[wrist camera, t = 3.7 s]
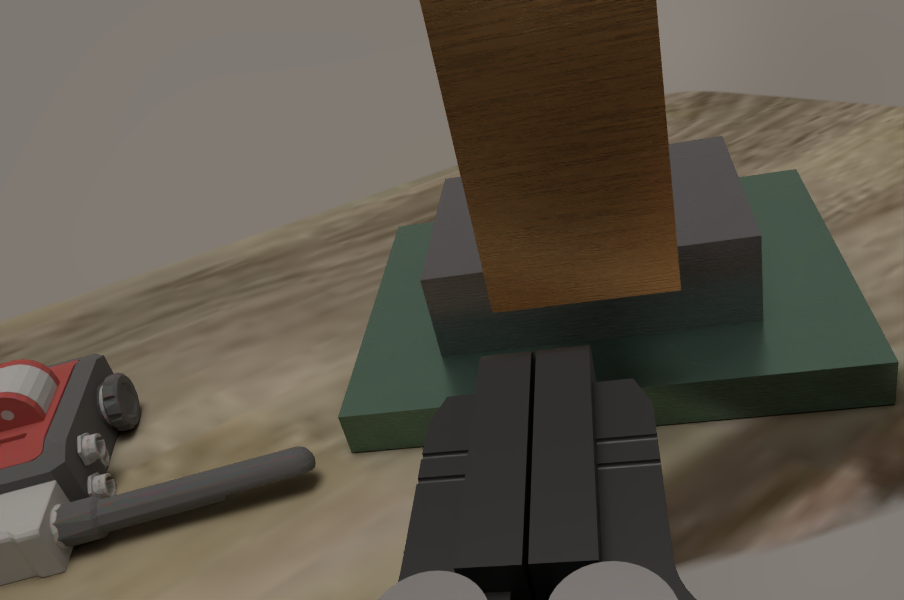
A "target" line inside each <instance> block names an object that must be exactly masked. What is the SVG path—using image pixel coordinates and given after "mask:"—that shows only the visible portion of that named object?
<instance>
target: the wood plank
mask: <svg viewBox="0 0 904 600" xmlns="http://www.w3.org/2000/svg"><path fill="white" fill-rule="evenodd" d="M420 4H421V8H422V13H423V17H424V21H425V26H426V30H427V34H428V38H429V42H430V47H431V51H432V55H433V60H434V64H435V68H436V73H437V77H438V81H439V85H440V90H441V94H442V98H443V102H444V107H445V111H446V116H447V120H448V124H449V128H450V132H451V137H452V141H453V145H454V149H455V154H456V158H457V163H458V167H459V171H460V176H461V180H462V184H463V188H464V193H465V197H466V201H467V206H468V210H469V214H470V218H471V223H472V227H473V231H474V236H475V240H476V244H477V248H478V253H479V257H480V261H481V266H482V270H483V274H484V278H485V283H486V287H487V291H488V296H489V300H490V304H491V308H492V313H498V312H506V311H514V310H523V309H531V308H539V307H548V306H556V305H564V304H572V303H581V302H589V301H597V300H606V299H614V298H622V297H630V296H639V295H647V294H655V293H664V292H672V291H680V290H681V283H680V271H679V260H678V248H677V236H676V225H675V213H674V202H673V190H672V178H671V167H670V155H669V143H668V132H667V120H666V109H665V97H664V85H663V74H662V63H661V51H660V39H659V27H658V16H657V4H656V0H420Z"/></svg>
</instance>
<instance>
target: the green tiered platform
mask: <svg viewBox="0 0 904 600" xmlns="http://www.w3.org/2000/svg"><path fill="white" fill-rule="evenodd" d="M669 155H670V167H671V178H672V190H673V202H674V213H675V225H676V236H677V248H678V260H679V271H680V283H681V290H680V291H672V292H664V293H655V294H647V295H639V296H630V297H622V298H614V299H606V300H597V301H589V302H581V303H572V304H564V305H556V306H548V307H539V308H531V309H523V310H514V311H506V312H498V313H492V308H491V304H490V300H489V296H488V291H487V287H486V283H485V278H484V274H483V270H482V266H481V261H480V257H479V253H478V248H477V244H476V240H475V236H474V231H473V227H472V223H471V218H470V214H469V210H468V206H467V201H466V197H465V193H464V188H463V184H462V180H461V177H455V178H449V179H445V182H444V186H443V190H442V194H441V198H440V202H439V206H438V210H437V214H436V218H435V222H429V223H422V224H415V225H408V226H402V227H398V231H397V234H396V237H395V240H394V243H393V246H392V250H391V253H390V256H389V259H388V262H387V265H386V268H385V272H384V275H383V278H382V281H381V284H380V287H379V290H378V294H377V297H376V300H375V303H374V306H373V309H372V313H371V316H370V319H369V322H368V325H367V328H366V331H365V335H364V338H363V341H362V344H361V347H360V350H359V354H358V357H357V360H356V363H355V366H354V369H353V372H352V376H351V379H350V382H349V385H348V388H347V391H346V395H345V398H344V401H343V404H342V407H341V410H340V413H339V417H338V418H339V421H340V423H341V426H342V428H343V431H344V434H345V436H346V439H347V442H348V444H349V447H350V449H351V452H352V453H353V452H364V451H375V450H386V449H398V448H409V447H420V446H424V442H425V437H426V432H427V426H428V423H429V422H430V420H431V419H432V418H433V416H434V415H435V413H436V412H437V410H438V409H439V408H440V406H441V405H442V403H443V402H444V401H445V399H446V398H447V397H450V396H460V395H470V394H475V392H476V384H477V376H478V368H479V361H480V358H481V357H482V356H491V355H500V354H510V353H519V352H528V351H533V352H534V353H535V356H536V352H537V350H545V349H554V348H564V347H573V346H583V345H590V347H591V352H592V358H593V364H594V370H595V377H596V382H601V381H611V380H622V379H632V378H633V379H634V380H635V382H636V383H637V384H638V385H639V387H640V388H641V389H642V390H643V392H644V393H645V394H646V395H647V397H648V398H649V399H650V401H651V402H652V403H653V410H654V417H655V424H656V425H666V424H677V423H689V422H700V421H711V420H722V419H733V418H745V417H756V416H767V415H778V414H789V413H801V412H812V411H823V410H834V409H845V408H857V407H868V406H879V405H890V404H895V398H896V386H897V374H898V360H897V358H896V356H895V355H894V353H893V351H892V349H891V347H890V345H889V343H888V341H887V340H886V338H885V336H884V334H883V332H882V330H881V328H880V326H879V324H878V323H877V321H876V319H875V317H874V315H873V313H872V311H871V309H870V308H869V306H868V304H867V302H866V300H865V298H864V296H863V294H862V293H861V291H860V289H859V287H858V285H857V283H856V281H855V279H854V277H853V276H852V274H851V272H850V270H849V268H848V266H847V264H846V262H845V261H844V259H843V257H842V255H841V253H840V251H839V249H838V247H837V245H836V244H835V242H834V240H833V238H832V236H831V234H830V232H829V230H828V229H827V227H826V225H825V223H824V221H823V219H822V217H821V215H820V213H819V212H818V210H817V208H816V206H815V204H814V202H813V200H812V198H811V197H810V195H809V193H808V191H807V189H806V187H805V185H804V183H803V182H802V180H801V178H800V176H799V174H798V172H797V170H796V169H794V170H787V171H780V172H773V173H766V174H759V175H753V176H746V177H738V175H737V172H736V170H735V167H734V165H733V162H732V160H731V157H730V155H729V152H728V150H727V147H726V145H725V142H724V139H723V137H722V136H719V137H713V138H706V139H700V140H693V141H687V142H680V143H674V144H669Z"/></svg>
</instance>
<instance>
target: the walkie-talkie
mask: <svg viewBox="0 0 904 600" xmlns="http://www.w3.org/2000/svg"><path fill="white" fill-rule="evenodd" d="M139 417H140V409H139V400H138V395H137V393H136V390H135V388H134V385H133V384H132V382H131V380H130V379H129V378H128V377H127V376H125V375H124V374H123V373H115V374H114V373H113V372H112V370H111V368H110V366H109V364H108V363H107V361H106V359H105V357H104V355H98V354H92V355H88V356H85V357H81V358H77V359H73V360H70V361H66V362H62V363H58V364H54V365H51V366H45V365H44V364H42V363H39V362H36V361H33V360H25V359H22V360H14V361H10V362H6V363H3V364H0V586H1V585H4V584H8V583H12V582H16V581H19V580H23V579H27V578H31V577H34V576H39V577H42V578H44V577H48V576H51V575H55V574H58V573H62V572H65V571H66V568H67V565H68V562H69V559H70V556H71V552H72V549H73V546H76V545H79V544H83V543H87V542H90V541H94V540H98V539H102V538H105V537H106V536H107V535H108V533H109V532H111V531H115V530H118V529H122V528H126V527H129V526H133V525H137V524H140V523H144V522H148V521H151V520H155V519H159V518H162V517H166V516H170V515H173V514H177V513H181V512H184V511H188V510H192V509H195V508H199V507H203V506H206V505H210V504H214V503H217V502H221V501H224V500H226V499H227V497H228V495H229V494H232V493H236V492H240V491H243V490H247V489H251V488H254V487H258V486H262V485H265V484H269V483H273V482H276V481H280V480H283V479H287V478H291V477H294V476H298V475H302V474H304V473H307V472H309V471H311V470H312V469H313V468H314V467H315V458H314V456H313V454H312V453H311V452H310V451H309V450H308V449H307V448H305V447H294V448H290V449H286V450H283V451H279V452H275V453H271V454H268V455H264V456H260V457H257V458H253V459H249V460H245V461H242V462H238V463H234V464H231V465H227V466H223V467H219V468H216V469H212V470H208V471H205V472H201V473H197V474H193V475H190V476H186V477H182V478H179V479H175V480H171V481H167V482H164V483H160V484H156V485H153V486H149V487H145V488H141V489H138V490H134V491H130V492H127V493H123V494H119V495H115V493H116V484H115V481H114V479H111V480H107V481H106V478H108V477H111V475H110V473H106V471H107V468H108V465H109V461H110V458H111V455H112V451H113V448H114V444H115V441H116V438H117V435H118V432H119V431H125V430H129V429H133V428H134V427H135V426H136V425H137V423H138V421H139Z"/></svg>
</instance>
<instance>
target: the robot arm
mask: <svg viewBox="0 0 904 600" xmlns="http://www.w3.org/2000/svg"><path fill="white" fill-rule="evenodd" d="M422 454H423V459H421V464H420V469H419V475H418V484H417V486H416V491H415V496H414V502H413V507H412V513H411V518H410V523H409V529H408V534H407V540H406V545H405V550H404V556H403V561H402V567H401V572H400V576H399V580H398V583H396V584H395V585H394V586H392V587H391V588H389V589H388V590H387V591H386V592H385V593H384V594H383V595H382V596H381V597H380V598H379V600H696V599H695V598H694V597H693V596H692V594H691V593H690V592H689V591H688V590H687V589H686V587H685V586H684V584H683V583H682V581H681V580H680V577H679V575H678V573H677V570H676V567H675V563H674V558H673V550H672V543H671V535H670V528H669V521H668V513H667V506H666V498H665V491H664V484H663V476H662V469H661V462H660V454H659V447H658V440H657V432H656V424H655V417H654V410H653V403H652V402H651V401H650V399H649V398H648V397H647V395H646V394H645V393H644V392H643V390H642V389H641V388H640V387H639V385H638V384H637V383H636V382H635V380H634V379H633V378H632V379H622V380H611V381H601V382H596V377H595V370H594V364H593V358H592V352H591V347H590V345H583V346H573V347H564V348H554V349H545V350H537V352H536V356H535V353H534V352H533V351H528V352H519V353H510V354H500V355H491V356H482V357H481V358H480V361H479V368H478V376H477V384H476V392H475V394H470V395H460V396H450V397H447V398H446V399H445V401H444V402H443V403H442V405H441V406H440V408H439V409H438V410H437V412H436V413H435V415H434V416H433V418H432V419H431V420H430V422H429V423H428V426H427V432H426V437H425V442H424V448H423V453H422Z"/></svg>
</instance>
